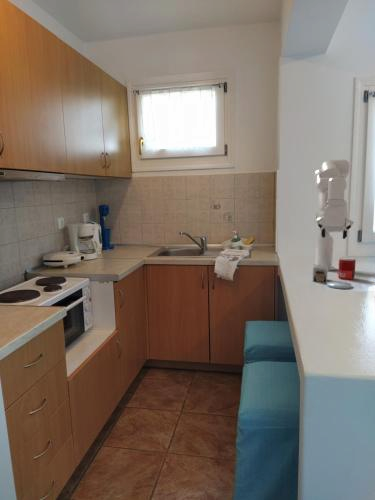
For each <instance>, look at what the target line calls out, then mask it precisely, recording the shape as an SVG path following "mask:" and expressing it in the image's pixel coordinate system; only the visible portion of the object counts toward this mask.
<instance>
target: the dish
mask: <svg viewBox="0 0 375 500" xmlns="http://www.w3.org/2000/svg"><path fill="white" fill-rule="evenodd" d="M326 285H327V287H328V288H331V289H336V290H348V289H352V283H350V282H347V281H339V280H331V281H327V282H326Z"/></svg>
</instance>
